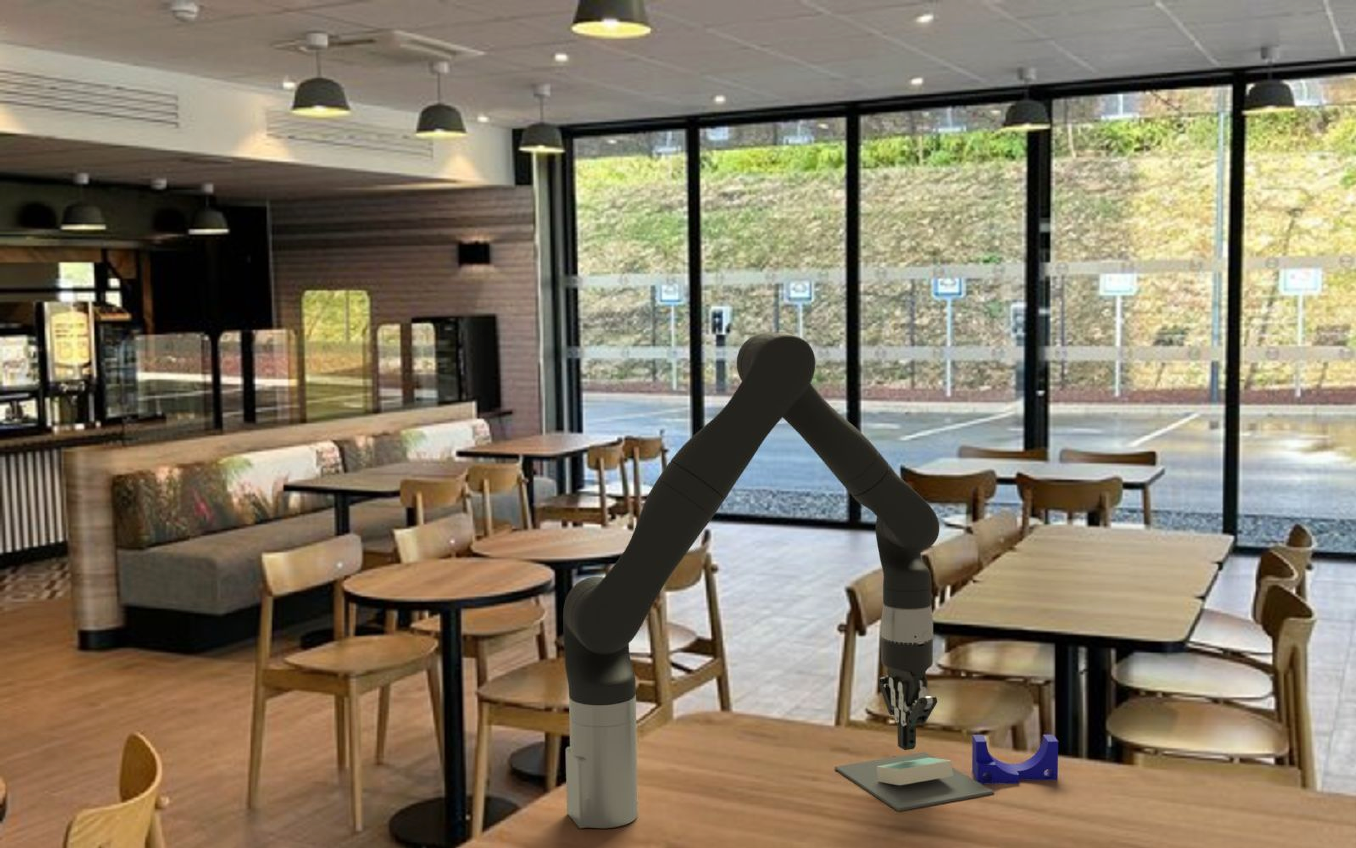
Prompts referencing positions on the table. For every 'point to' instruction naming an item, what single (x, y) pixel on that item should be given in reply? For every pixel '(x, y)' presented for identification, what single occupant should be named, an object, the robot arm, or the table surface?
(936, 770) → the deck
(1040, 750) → the blue u-shaped bracket
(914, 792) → the mat
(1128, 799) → the table surface
